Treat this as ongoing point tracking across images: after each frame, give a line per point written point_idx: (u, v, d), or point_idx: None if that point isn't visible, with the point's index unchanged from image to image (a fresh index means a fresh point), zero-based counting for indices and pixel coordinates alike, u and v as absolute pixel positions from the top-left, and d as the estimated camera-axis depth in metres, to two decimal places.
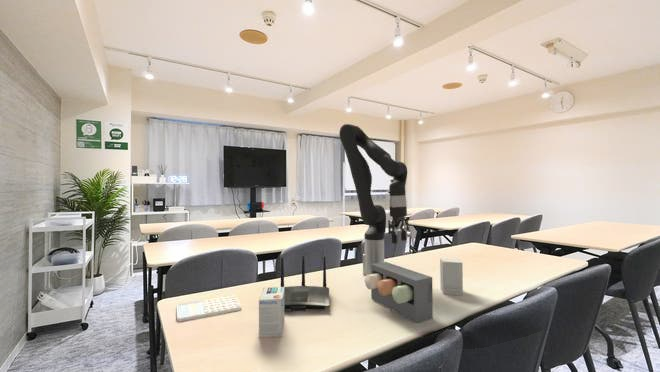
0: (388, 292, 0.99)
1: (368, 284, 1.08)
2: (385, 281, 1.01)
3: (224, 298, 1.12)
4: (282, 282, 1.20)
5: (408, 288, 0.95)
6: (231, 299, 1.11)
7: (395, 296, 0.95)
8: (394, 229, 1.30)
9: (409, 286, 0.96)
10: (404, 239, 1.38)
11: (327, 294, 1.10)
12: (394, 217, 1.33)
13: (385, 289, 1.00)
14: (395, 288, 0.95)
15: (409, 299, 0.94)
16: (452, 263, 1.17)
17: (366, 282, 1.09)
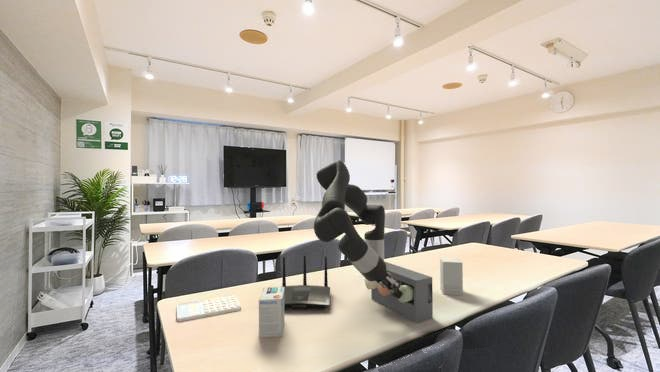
0: (388, 292, 0.99)
1: (368, 284, 1.08)
2: None
3: (224, 298, 1.12)
4: (284, 281, 1.21)
5: (412, 287, 0.95)
6: (231, 299, 1.11)
7: None
8: None
9: None
10: None
11: (328, 293, 1.11)
12: (385, 274, 0.87)
13: (385, 289, 1.00)
14: None
15: (413, 298, 0.95)
16: (452, 263, 1.17)
17: (366, 282, 1.09)
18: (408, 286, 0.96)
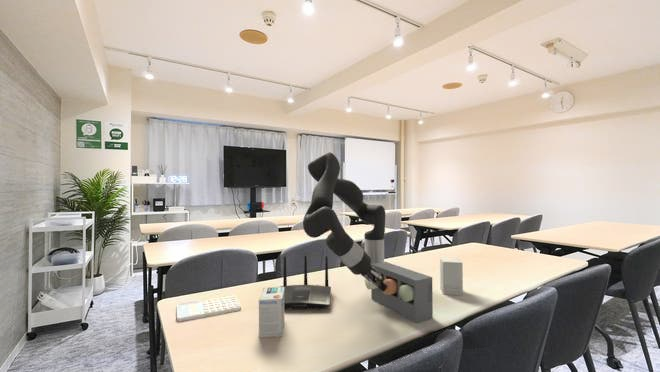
0: (391, 291, 1.00)
1: (368, 284, 1.08)
2: (388, 280, 1.01)
3: (224, 298, 1.12)
4: (285, 281, 1.22)
5: None
6: (231, 299, 1.11)
7: (402, 295, 0.97)
8: None
9: None
10: None
11: (328, 293, 1.12)
12: (369, 268, 0.94)
13: (388, 289, 1.00)
14: (402, 286, 0.97)
15: None
16: (452, 263, 1.17)
17: (366, 282, 1.09)
18: None
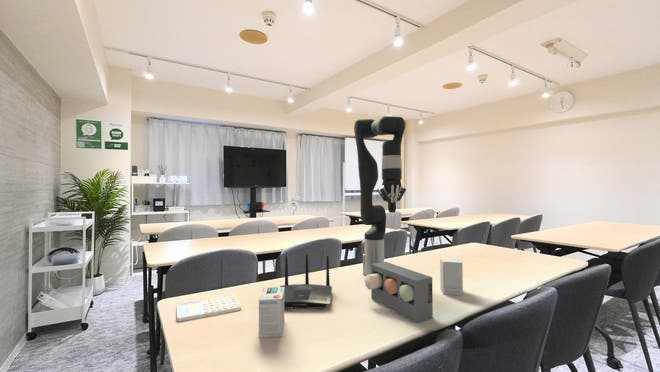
0: (395, 290, 1.01)
1: (368, 284, 1.08)
2: (392, 280, 1.02)
3: (224, 298, 1.12)
4: (286, 280, 1.23)
5: None
6: (231, 299, 1.11)
7: (402, 295, 0.97)
8: (387, 196, 1.15)
9: None
10: None
11: (329, 293, 1.12)
12: (384, 180, 1.16)
13: (392, 288, 1.01)
14: (402, 286, 0.97)
15: None
16: (452, 263, 1.17)
17: (366, 282, 1.09)
18: None
